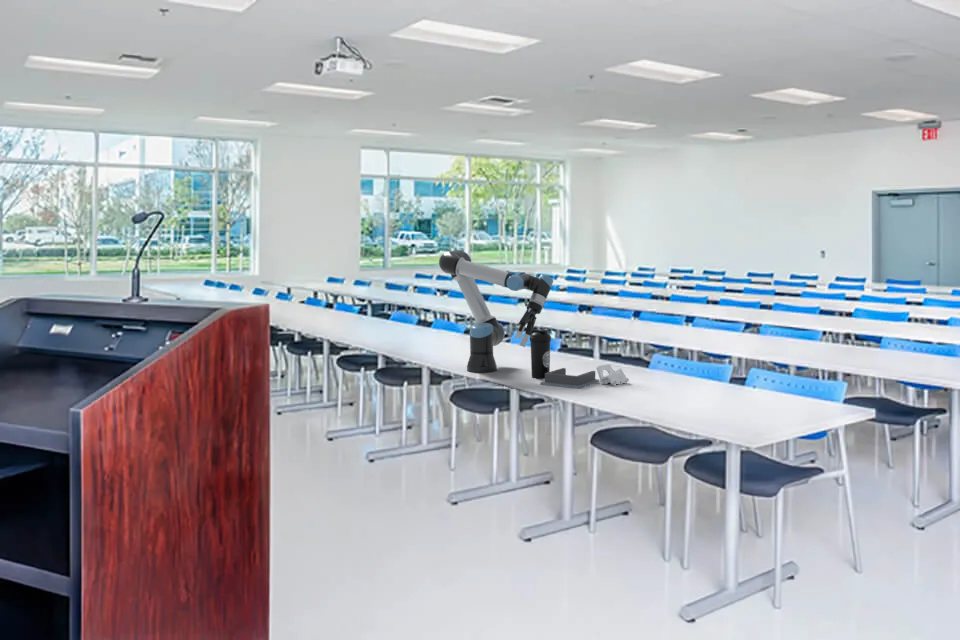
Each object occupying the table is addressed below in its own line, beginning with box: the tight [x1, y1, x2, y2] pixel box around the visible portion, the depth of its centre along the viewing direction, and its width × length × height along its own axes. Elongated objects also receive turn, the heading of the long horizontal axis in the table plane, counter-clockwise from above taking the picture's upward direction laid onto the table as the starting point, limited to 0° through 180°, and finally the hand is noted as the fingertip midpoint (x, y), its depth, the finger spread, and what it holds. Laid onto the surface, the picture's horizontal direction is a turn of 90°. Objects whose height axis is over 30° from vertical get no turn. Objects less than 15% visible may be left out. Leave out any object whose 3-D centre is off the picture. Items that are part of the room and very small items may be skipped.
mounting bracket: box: [596, 363, 630, 386], centre depth 366 cm, size 12×6×11 cm, turn 129°
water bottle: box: [529, 328, 552, 380], centre depth 383 cm, size 10×10×23 cm
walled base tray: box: [539, 367, 600, 389], centre depth 369 cm, size 20×20×5 cm
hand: (519, 342), depth 397 cm, fingers open, 13 cm apart
